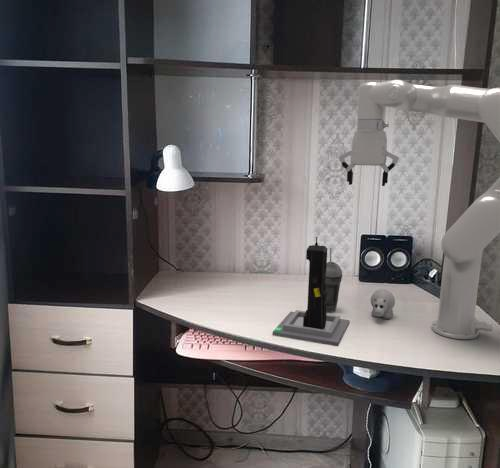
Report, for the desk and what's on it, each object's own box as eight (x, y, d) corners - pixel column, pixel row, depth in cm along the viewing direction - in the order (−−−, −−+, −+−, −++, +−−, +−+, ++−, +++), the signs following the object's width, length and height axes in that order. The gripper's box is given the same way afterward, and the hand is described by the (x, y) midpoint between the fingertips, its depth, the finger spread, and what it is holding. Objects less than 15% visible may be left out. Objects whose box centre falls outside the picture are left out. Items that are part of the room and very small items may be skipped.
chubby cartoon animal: (363, 322, 147) (365, 295, 145) (372, 310, 157) (374, 285, 156) (388, 327, 143) (390, 299, 142) (395, 314, 154) (397, 288, 153)
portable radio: (324, 332, 136) (328, 243, 131) (302, 329, 137) (306, 241, 132) (326, 322, 143) (331, 237, 139) (305, 320, 145) (309, 236, 140)
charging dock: (349, 323, 146) (349, 315, 145) (337, 346, 129) (338, 337, 129) (290, 314, 152) (290, 306, 151) (272, 335, 135) (272, 326, 135)
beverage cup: (322, 314, 152) (326, 251, 149) (313, 307, 159) (316, 246, 155) (344, 313, 154) (348, 250, 151) (334, 305, 161) (337, 245, 157)
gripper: (401, 127, 145) (397, 185, 148) (342, 126, 150) (339, 183, 154) (400, 126, 138) (396, 187, 141) (338, 126, 143) (335, 185, 146)
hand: (366, 185), depth 147 cm, fingers open, 9 cm apart
